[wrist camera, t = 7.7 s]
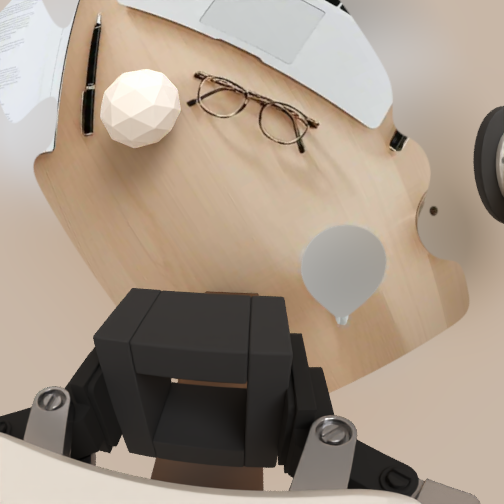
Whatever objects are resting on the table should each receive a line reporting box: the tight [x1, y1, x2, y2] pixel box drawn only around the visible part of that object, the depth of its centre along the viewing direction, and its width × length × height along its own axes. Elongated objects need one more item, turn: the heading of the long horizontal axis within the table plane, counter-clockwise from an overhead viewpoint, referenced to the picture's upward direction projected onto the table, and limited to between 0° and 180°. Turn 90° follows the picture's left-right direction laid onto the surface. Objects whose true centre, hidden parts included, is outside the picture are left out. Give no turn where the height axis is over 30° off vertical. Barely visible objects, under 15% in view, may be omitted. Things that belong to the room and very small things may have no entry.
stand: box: [151, 292, 263, 491], centre depth 24 cm, size 8×8×28 cm
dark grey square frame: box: [93, 288, 293, 468], centre depth 10 cm, size 6×6×3 cm
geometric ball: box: [100, 69, 181, 148], centre depth 27 cm, size 8×8×8 cm
